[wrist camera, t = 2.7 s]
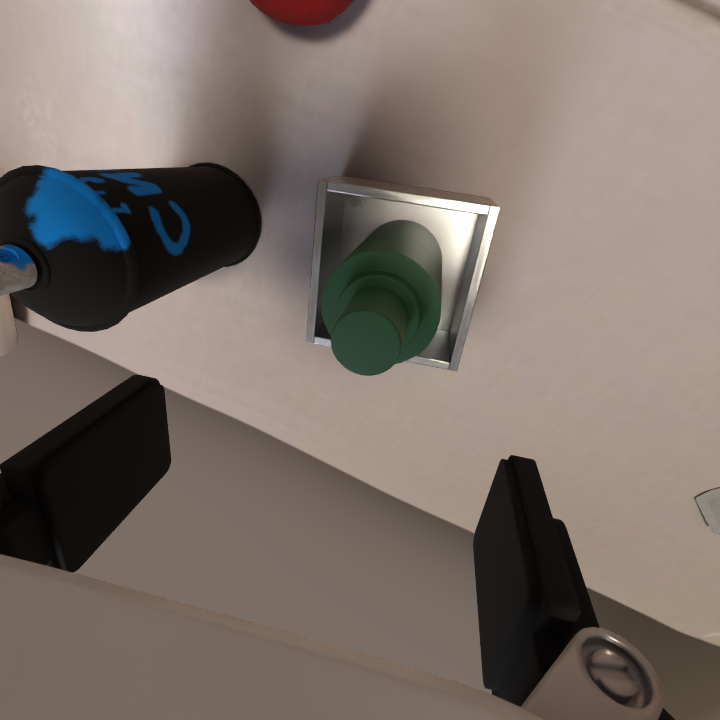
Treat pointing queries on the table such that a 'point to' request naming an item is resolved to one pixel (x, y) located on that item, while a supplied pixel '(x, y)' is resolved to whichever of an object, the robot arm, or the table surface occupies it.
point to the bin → (421, 205)
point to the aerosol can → (117, 237)
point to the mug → (7, 326)
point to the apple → (302, 10)
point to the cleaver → (711, 509)
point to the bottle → (385, 298)
